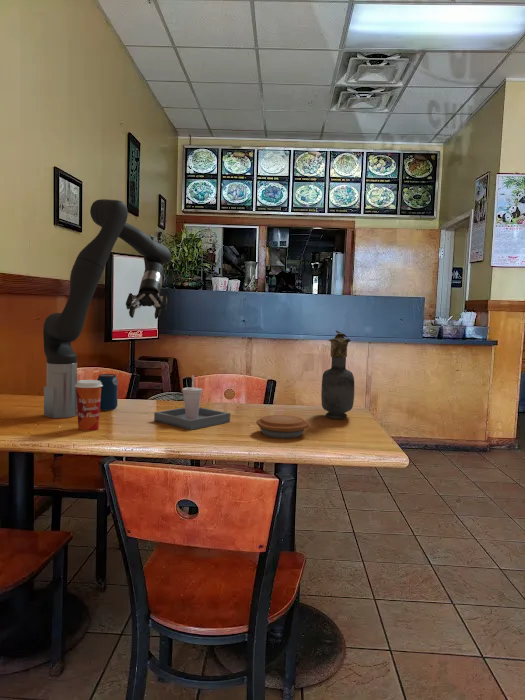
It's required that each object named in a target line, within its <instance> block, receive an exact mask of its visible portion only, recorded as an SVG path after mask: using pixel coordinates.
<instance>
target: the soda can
mask: <svg viewBox="0 0 525 700" xmlns="http://www.w3.org/2000/svg"><path fill="white" fill-rule="evenodd" d="M96 380H98V381H101V384H102V385H103V386H102V387H101V401H100V411H114V410H116V409H117V407H118V387H119V386H118V378H117V376H116V374H114V373H101V374H99V375H98V377H97V379H96Z"/></svg>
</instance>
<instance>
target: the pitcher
mask: <svg viewBox="0 0 525 700" xmlns="http://www.w3.org/2000/svg"><path fill="white" fill-rule="evenodd" d="M335 332H336V335H335V337H334V338H330V339H328V341H329V342H330V357H331V365H330V367H331V368H328V369H326V370H325V371H324V372H323V374H322V378H321V391H320V392H321V394H320V395H321V398H320V399H321V406H322V409H323V410H324V411H326V413H325V416H326V417H327V418H328V419H333V420H345V419H346V418H347V417H348V415H347V414H346V413H348V412H350V411H351V410H352V409H353V408H354V402H355V376H354V374H353V372H352V371H351V370H348V369H347V368H346V367H347V366H346V364H347V356H348V345H349V343H350V342H351V338H348V336H347V334H345V333H343V332H341V331H339V330H335Z"/></svg>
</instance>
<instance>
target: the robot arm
mask: <svg viewBox="0 0 525 700" xmlns="http://www.w3.org/2000/svg"><path fill="white" fill-rule="evenodd" d="M128 211H129V210H128V207H127V205H126V203H125V202H124V201H122V200H117V199H107V198H105V199H104V198H102V199H100V198H99V199H96V200H94V201H93V202H92V203H91V205H90V211H89V212H90V213H89V214H90V217H91V219H92V221H93V222H94V223H95V224H96V225H97V226H99V227H101V228H100V230H99V232H98V234H97V235H96V236H95V237H94V238H93V239H92V240H91V241H90V242H88V243H87V244H86V246H85V247H84V248H82V250H80V251H79V253H78V255H77V257H76V259H75V261H74V263H73V265H72V268H71V271H70V275H69V276H70V277H69V294H68V295H69V296H68V299H67V301H66V303H65V305H64V308H63V310H62V312H55V313H54V312H53V313H51V314H49V315H48V316H47V317H46V318H45V320H44V323H43V328H42V329H43V330H42V333H43V334H42V335H43V336H42V337H43V353H44V355H45V357H46V385H44V387H43V416H44V417H48V418H50V419H59V418H60V419H62V418H64V419H65V418H70V417H71V418H72V417H75V416H78V414H77V396H76V387H75V385H76V383H77V381H78V355H77V353H76V352H75V351H74V349H73V347H72V342H74V341H75V340H77V339H78V338H79V337H80V335H81V333H82V331H83V328H84V326H85V325H84V324H85V321H86V317H87V314H88V310H89V307H90V304H91V302H92V299H93V297H94V294H95V291H96V289H97V287H98V284H99V282H100V280H101V279H102V278H101V277H102V275H103V274H104V273H103V272H104V270H105V268H106V264H107V262H108V260H109V257H110V255H111V253H112V251H113V248H114V246H115V244H116V242H117V240H118V239H121V240H123V242H125V243H126V244H127V245H128V246H130V247H131V248H133V250H135V251H136V252H138V254H140V255H141V256H143V262H144V271H143V275H142V277H141V281H140V286H139V289H138V293H137V294H135V295H133V293H131V292H130V293H128V296H127V298H126V301H125V306H126V309H127V310H129V311H128V314H129V317H130V318H131V319H133V318H134V317H135V311H136V310H137V309H140V308H141V307H153V308H154V318H155V319H158V318H159V317H160V315H161V311H167V305H168V296H167V294H165V293H164V294H163V295H160V294H161V289H162V285H163V277H164V265H167V264H169V263H170V262H171V260H172V253H171V251H170V249H169V248H168V246H166V245H164V244H162V243H161V242H158V241H156V240H153V239H152V238H151V237H150V236H149V235H148V234H147V233H145V232H144V231H142V230H141V229H139V228H137V227H135V226H134V225H132V224H129V223H128V222H127V221H128V220H127V219H128V216H129V212H128ZM159 301H161V302H162V303H161V304H160V303H159Z"/></svg>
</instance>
